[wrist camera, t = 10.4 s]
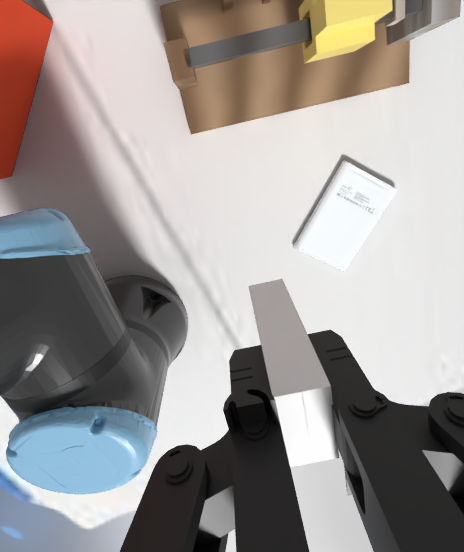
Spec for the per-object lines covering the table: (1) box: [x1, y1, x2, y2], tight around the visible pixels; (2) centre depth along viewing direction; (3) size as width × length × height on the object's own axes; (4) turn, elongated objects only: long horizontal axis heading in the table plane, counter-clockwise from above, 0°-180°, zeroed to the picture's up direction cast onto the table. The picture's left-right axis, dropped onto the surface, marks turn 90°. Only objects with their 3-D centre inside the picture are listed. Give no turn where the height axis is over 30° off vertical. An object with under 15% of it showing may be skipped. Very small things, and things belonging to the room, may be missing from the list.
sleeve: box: [299, 0, 392, 63], centre depth 28 cm, size 5×4×7 cm
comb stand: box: [160, 0, 461, 134], centre depth 31 cm, size 25×12×9 cm, turn 102°
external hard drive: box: [293, 160, 397, 271], centre depth 43 cm, size 2×8×12 cm
